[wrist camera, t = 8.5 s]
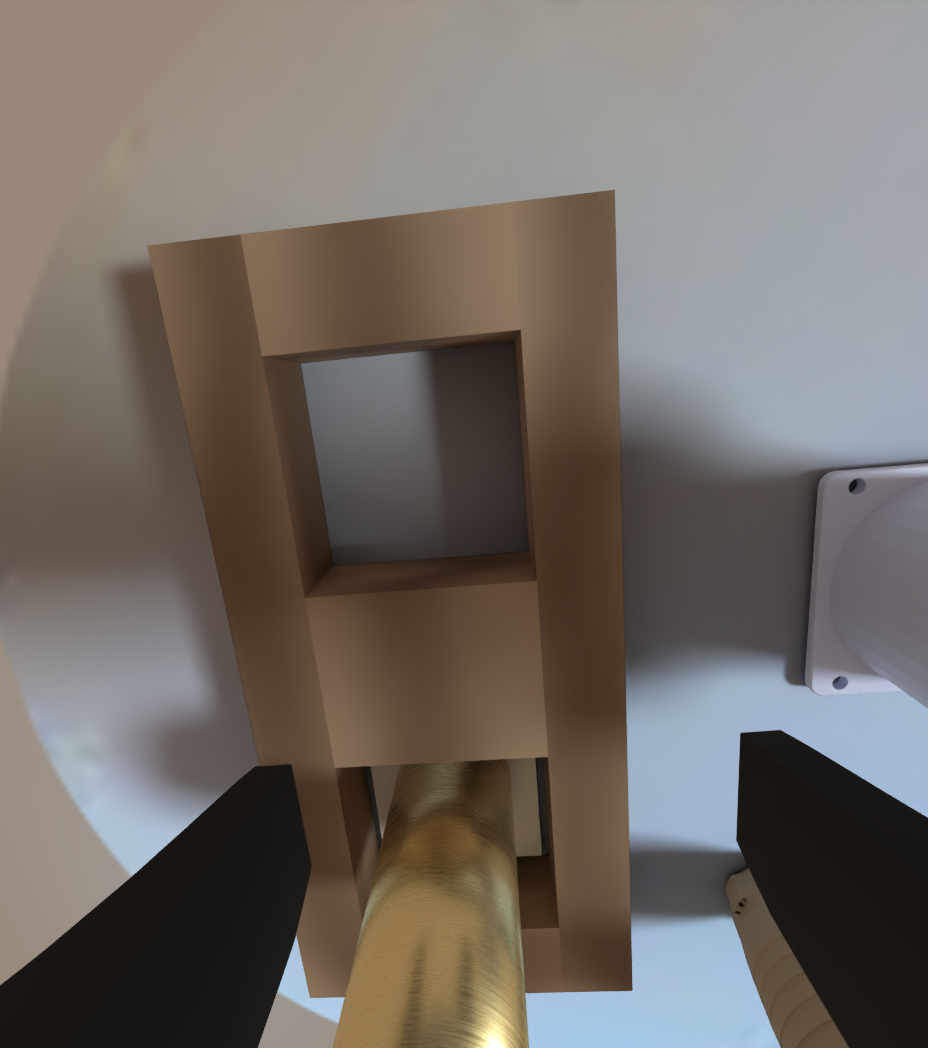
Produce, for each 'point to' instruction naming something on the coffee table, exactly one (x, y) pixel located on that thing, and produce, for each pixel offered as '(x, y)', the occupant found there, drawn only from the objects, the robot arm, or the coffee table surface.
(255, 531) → the mount block
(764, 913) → the handle
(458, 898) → the peg
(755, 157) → the coffee table surface
